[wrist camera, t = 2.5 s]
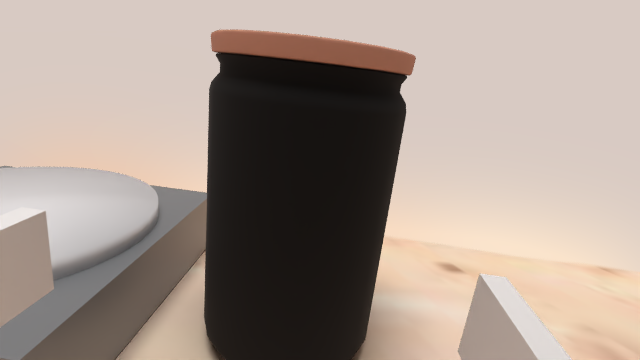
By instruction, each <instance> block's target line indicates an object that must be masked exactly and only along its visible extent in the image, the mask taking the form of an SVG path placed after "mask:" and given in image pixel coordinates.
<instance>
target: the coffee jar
mask: <svg viewBox="0 0 640 360" xmlns="http://www.w3.org/2000/svg"><path fill="white" fill-rule="evenodd" d="M211 43H212V51H214V52H218V53H217V54H216V57H217V58H218V60H219V62H220V73H219V74H218V75H217V76H216V77H215V78H214V79H213V81H212V82H211V85H210V89H209V131H208V175H207V218H206V262H205V307H204V318H205V324H206V330H207V335H208V337H209V339H210V341H211V342H212V344H213V345H214V346H215V348H216V349H217V350H218V352H219V353H220V355H221V356H222V357H223V358H224V359H225V360H351V358H352V357H353V356H354V355H355V353H356V352H357V350H358V349H359V347H360V346H361V345H362V343H363V342H364V340H365V337H366V332H367V326H368V321H369V315H370V310H371V304H372V299H373V293H374V288H375V282H376V277H377V271H378V266H379V260H380V255H381V249H382V244H383V238H384V232H385V226H386V221H387V216H388V210H389V205H390V199H391V194H392V188H393V183H394V177H395V172H396V166H397V161H398V155H399V150H400V144H401V138H402V133H403V127H404V122H405V116H406V104H405V102H404V100H403V98H402V96H401V94H400V88H401V84H402V83H403V82H404V81H405V80H406V78H407V76H405V75H411V74H412V70H413V67H414V63H415V59H416V58H415V56H414V55H412V54H409V53H406V52H404V51H400V50H395V49H391V48H386V47H381V46H375V45H369V44H364V43H357V42H352V41H346V40H339V39H331V38H323V37H316V36H308V35H299V34H289V33H288V34H287V33H279V32H269V31H253V30H217V31H215V32H212V34H211Z"/></svg>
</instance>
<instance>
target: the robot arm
mask: <svg viewBox="0 0 640 360" xmlns="http://www.w3.org/2000/svg"><path fill="white" fill-rule="evenodd" d="M53 289H54V283H53V274H52V265H51V255H50V246H49V236H48V227H47V217H46V210H39V209H32V208H25V207H21V208H18V209H15V210H13V211H10V212H8V213H5V214H3V215H0V327H2V326H3V325H4V324H6V323H7V322H8V321H10V320H11V319H13V318H14V317H15V316H17V315H18V314H20V313H21V312H22V311H24V310H25V309H27V308H28V307H29V306H31V305H32V304H34V303H35V302H36V301H38V300H39V299H41V298H42V297H43V296H45V295H46V294H48V293H49V292H50V291H52V290H53ZM458 353H459V355H460V357H461V360H572V359H571V358H570V356H569V355H568V354H567V353H566V351H565V350H564V349H563V348H562V346H561V345H560V344H559V343H558V341H557V340H556V339H555V338H554V336H553V335H552V334H551V333H550V331H549V330H548V329H547V328H546V326H545V325H544V324H543V323H542V321H541V320H540V319H539V318H538V316H537V315H536V314H535V313H534V311H533V310H532V309H531V308H530V306H529V305H528V304H527V303H526V301H525V300H524V299H523V298H522V296H521V295H520V294H519V293H518V291H517V290H516V289H515V288H514V286H513V285H512V284H511V283H510V281H509V280H508V279H507V278H506V277H500V276H493V275H486V274H479V278H478V281H477V285H476V288H475V292H474V295H473V299H472V303H471V306H470V310H469V313H468V317H467V320H466V324H465V327H464V331H463V334H462V338H461V342H460V345H459V349H458Z"/></svg>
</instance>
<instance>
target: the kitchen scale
mask: <svg viewBox="0 0 640 360" xmlns="http://www.w3.org/2000/svg"><path fill="white" fill-rule="evenodd" d="M21 207H25V208H32V209H39V210H46V217H47V227H48V236H49V246H50V255H51V265H52V274H53V283H54V289H53V290H52V291H50V292H49V293H48V294H46V295H45V296H43V297H42V298H41V299H39V300H38V301H36V302H35V303H34V304H32V305H31V306H29V307H28V308H27V309H25V310H24V311H22V312H21V313H20V314H18V315H17V316H15V317H14V318H13V319H11V320H10V321H8V322H7V323H6V324H4V325H3V326H2V327H0V360H115V359H116V358H117V356H118V355H119V354H120V353H121V351H122V350H123V349H124V348H125V347H126V345H127V344H128V343H129V342H130V341H131V339H132V338H133V337H134V336H135V334H136V333H137V332H138V331H139V330H140V328H141V327H142V326H143V325H144V324H145V322H146V321H147V320H148V319H149V317H150V316H151V315H152V314H153V313H154V311H155V310H156V309H157V308H158V307H159V305H160V304H161V303H162V302H163V300H164V299H165V298H166V297H167V296H168V294H169V293H170V292H171V291H172V290H173V288H174V287H175V286H176V285H177V283H178V282H179V281H180V280H181V279H182V277H183V276H184V275H185V274H186V273H187V271H188V270H189V269H190V268H191V266H192V265H193V264H194V263H195V262H196V260H197V259H198V258H199V257H200V256H201V254H202V253H203V252H204V251H205V249H206V218H207V193H205V192H197V191H189V190H182V189H174V188H167V187H160V186H151V185H148V184H147V183H145V182H143V181H141V180H139V179H136V178H134V177H130V176H127V175H124V174H120V173H115V172H110V171H103V170H96V169H87V168H73V167H10V166H2V167H0V215H3V214H5V213H8V212H10V211H13V210H15V209H18V208H21Z"/></svg>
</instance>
